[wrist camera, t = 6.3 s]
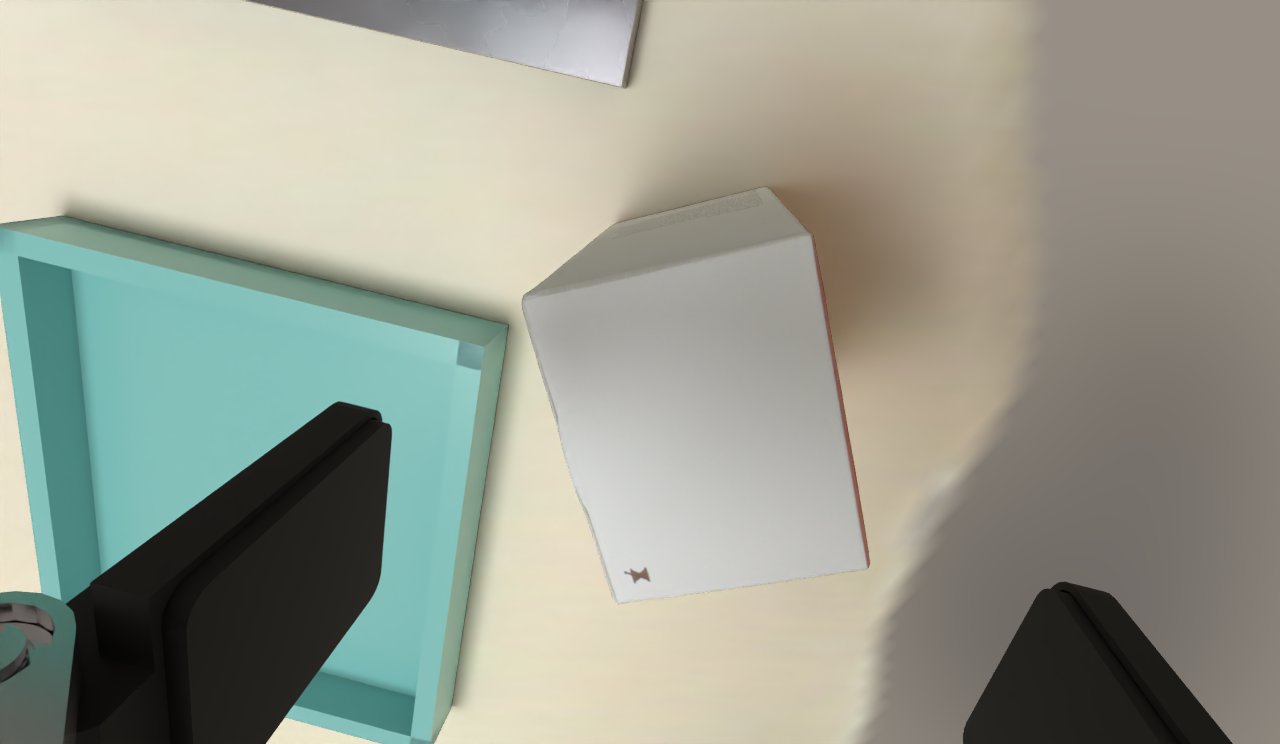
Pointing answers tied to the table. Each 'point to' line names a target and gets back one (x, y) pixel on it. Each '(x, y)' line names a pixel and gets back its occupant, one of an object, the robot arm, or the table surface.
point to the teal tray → (249, 431)
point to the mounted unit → (503, 29)
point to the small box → (701, 400)
